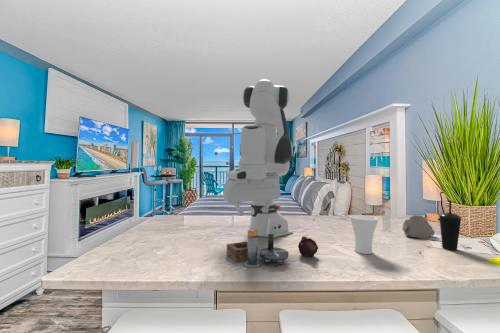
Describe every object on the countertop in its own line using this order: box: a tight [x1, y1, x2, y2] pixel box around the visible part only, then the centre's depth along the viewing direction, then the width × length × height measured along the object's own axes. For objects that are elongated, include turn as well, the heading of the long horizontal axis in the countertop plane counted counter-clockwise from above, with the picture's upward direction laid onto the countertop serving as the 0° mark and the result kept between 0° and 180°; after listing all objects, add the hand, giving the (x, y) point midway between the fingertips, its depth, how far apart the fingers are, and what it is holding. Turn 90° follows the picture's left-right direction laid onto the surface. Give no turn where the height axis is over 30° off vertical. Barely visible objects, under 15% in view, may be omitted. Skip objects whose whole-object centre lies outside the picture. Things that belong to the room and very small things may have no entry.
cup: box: [349, 214, 380, 255], centre depth 103 cm, size 10×10×14 cm
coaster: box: [243, 260, 261, 269], centre depth 87 cm, size 6×6×1 cm
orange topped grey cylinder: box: [246, 229, 259, 265], centre depth 88 cm, size 3×3×11 cm
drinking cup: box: [438, 200, 463, 252], centre depth 108 cm, size 8×8×20 cm
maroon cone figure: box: [297, 235, 319, 258], centre depth 97 cm, size 7×7×15 cm
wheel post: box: [264, 259, 284, 266], centre depth 90 cm, size 6×6×1 cm
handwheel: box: [259, 234, 290, 261], centre depth 90 cm, size 10×10×6 cm
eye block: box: [226, 240, 248, 263], centre depth 95 cm, size 8×8×4 cm
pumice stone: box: [402, 214, 435, 239], centre depth 127 cm, size 15×8×10 cm, turn 96°
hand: (253, 213), depth 88 cm, fingers open, 8 cm apart
